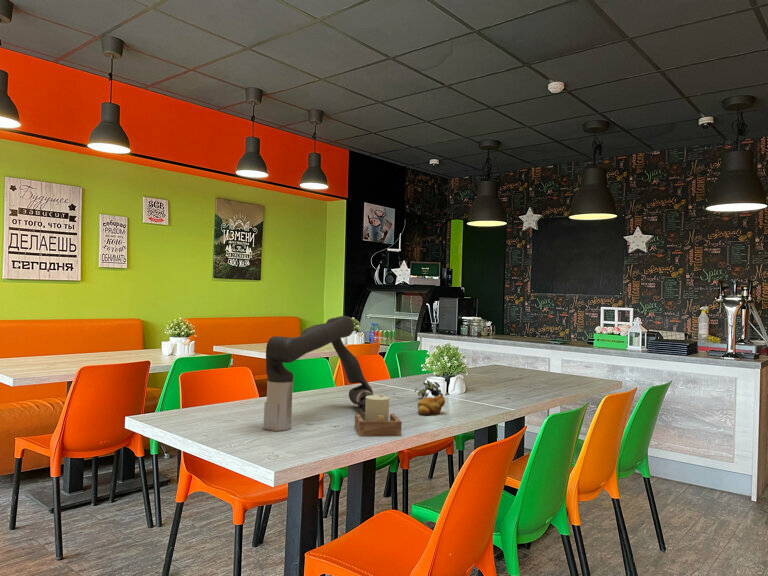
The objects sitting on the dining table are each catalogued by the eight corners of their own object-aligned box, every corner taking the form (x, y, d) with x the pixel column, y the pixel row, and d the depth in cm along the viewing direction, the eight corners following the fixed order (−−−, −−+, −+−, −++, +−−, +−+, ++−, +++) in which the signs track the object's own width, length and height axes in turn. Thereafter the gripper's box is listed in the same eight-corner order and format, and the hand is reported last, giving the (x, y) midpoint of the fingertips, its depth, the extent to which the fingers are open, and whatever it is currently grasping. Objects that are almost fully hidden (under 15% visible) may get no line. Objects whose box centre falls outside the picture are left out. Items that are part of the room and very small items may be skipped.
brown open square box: (401, 435, 197) (401, 416, 197) (359, 436, 194) (360, 416, 194) (393, 426, 210) (394, 408, 210) (354, 427, 208) (355, 408, 208)
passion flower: (435, 410, 270) (449, 392, 266) (419, 408, 264) (433, 390, 260) (424, 394, 278) (437, 376, 274) (409, 392, 272) (422, 374, 268)
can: (392, 427, 209) (393, 395, 210) (381, 432, 201) (383, 399, 201) (370, 423, 213) (372, 392, 214) (359, 428, 205) (361, 396, 205)
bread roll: (425, 417, 230) (426, 398, 230) (409, 413, 237) (410, 394, 237) (446, 414, 238) (447, 395, 238) (430, 409, 245) (431, 391, 246)
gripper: (351, 391, 227) (356, 399, 210) (382, 391, 230) (390, 399, 212) (350, 409, 227) (356, 419, 210) (381, 409, 229) (390, 419, 212)
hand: (373, 409), depth 211 cm, fingers closed
